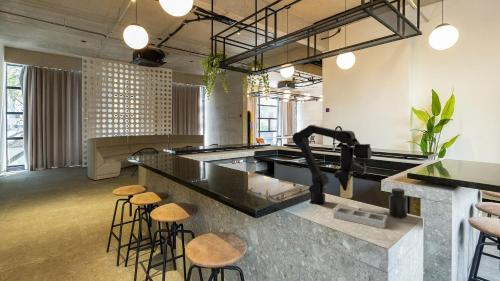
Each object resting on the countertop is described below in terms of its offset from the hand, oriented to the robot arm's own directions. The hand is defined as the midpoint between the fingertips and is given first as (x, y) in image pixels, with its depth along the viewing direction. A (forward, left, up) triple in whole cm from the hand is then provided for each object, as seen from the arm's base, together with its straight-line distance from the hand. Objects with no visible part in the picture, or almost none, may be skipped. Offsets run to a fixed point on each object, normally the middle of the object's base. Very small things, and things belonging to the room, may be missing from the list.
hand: (346, 189), depth 117 cm
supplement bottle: (+21, +3, -10) cm, 24 cm away
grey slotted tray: (+8, -10, -10) cm, 16 cm away
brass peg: (0, 0, -4) cm, 4 cm away
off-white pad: (0, 0, -10) cm, 10 cm away
